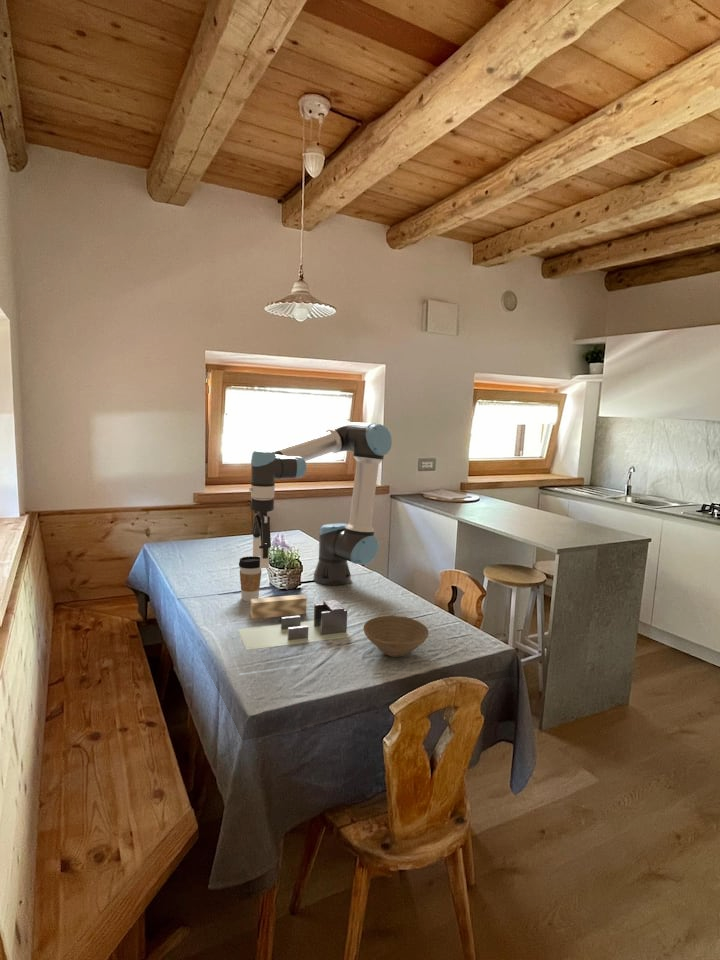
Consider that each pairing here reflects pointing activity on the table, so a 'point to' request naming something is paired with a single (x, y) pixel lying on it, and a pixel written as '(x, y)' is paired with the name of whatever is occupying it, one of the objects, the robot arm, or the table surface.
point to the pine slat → (278, 606)
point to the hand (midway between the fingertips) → (260, 561)
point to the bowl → (395, 634)
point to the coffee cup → (250, 577)
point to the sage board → (281, 636)
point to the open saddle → (294, 627)
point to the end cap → (330, 617)
